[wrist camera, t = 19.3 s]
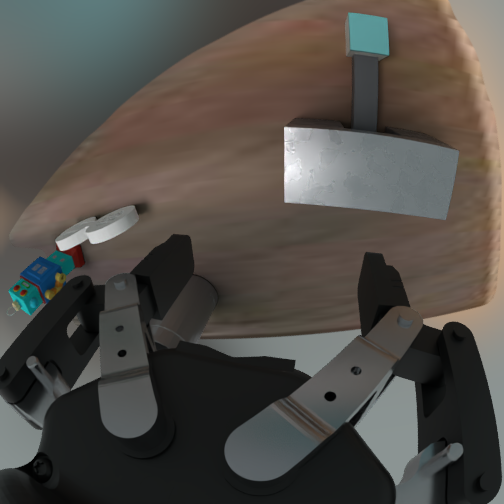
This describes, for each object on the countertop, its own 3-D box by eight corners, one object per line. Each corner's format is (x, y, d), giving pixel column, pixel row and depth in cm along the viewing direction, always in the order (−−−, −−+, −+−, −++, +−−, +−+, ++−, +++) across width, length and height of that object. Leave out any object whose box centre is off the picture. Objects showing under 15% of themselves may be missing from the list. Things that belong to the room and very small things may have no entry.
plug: (343, 167, 37) (346, 179, 32) (344, 24, 25) (348, 12, 21) (373, 170, 36) (381, 183, 31) (377, 28, 24) (387, 18, 20)
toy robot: (85, 246, 58) (15, 314, 38) (90, 267, 62) (26, 334, 41) (56, 236, 60) (-10, 294, 39) (61, 255, 63) (1, 313, 42)
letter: (144, 201, 47) (111, 226, 39) (149, 212, 48) (117, 239, 40) (77, 221, 55) (47, 244, 46) (81, 230, 56) (52, 253, 48)
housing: (294, 173, 39) (284, 202, 29) (294, 118, 35) (284, 127, 25) (417, 186, 35) (445, 220, 25) (424, 133, 31) (459, 150, 21)
